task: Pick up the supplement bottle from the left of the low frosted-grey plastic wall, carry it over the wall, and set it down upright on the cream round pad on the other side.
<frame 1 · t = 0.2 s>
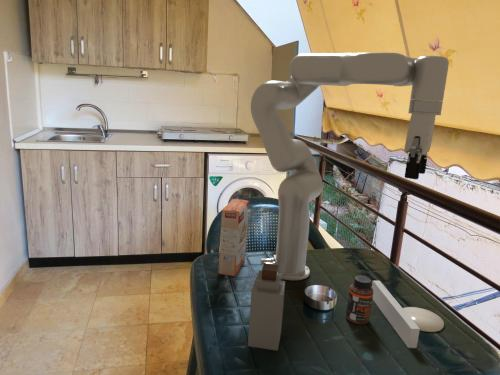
hand: (414, 175, 106), 37 cm above the table, tool pointing down, fingers open, 9 cm apart
resting pad: (420, 319, 107), on the table
supplement bottle: (357, 319, 106), on the table
cracker box: (232, 267, 132), on the table
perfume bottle: (264, 340, 95), on the table
low wall: (391, 319, 106), on the table
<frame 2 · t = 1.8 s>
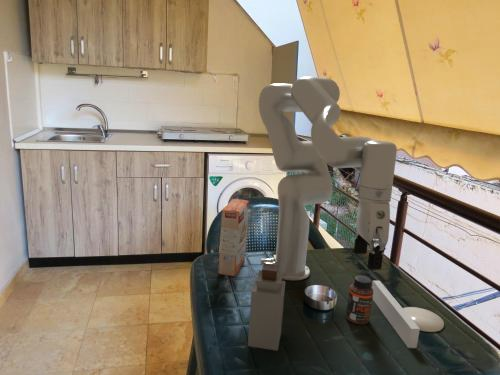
hand: (366, 260, 101), 16 cm above the table, tool pointing down, fingers open, 9 cm apart
nothing on the table moved.
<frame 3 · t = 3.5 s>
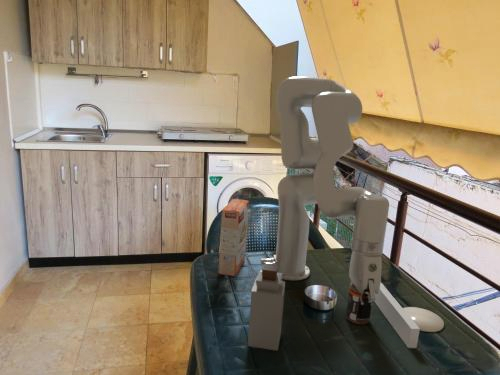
hand: (358, 310, 105), 3 cm above the table, tool pointing down, fingers closed on supplement bottle, 6 cm apart
supplement bottle: (357, 319, 106), on the table, touching gripper
everything else where it was.
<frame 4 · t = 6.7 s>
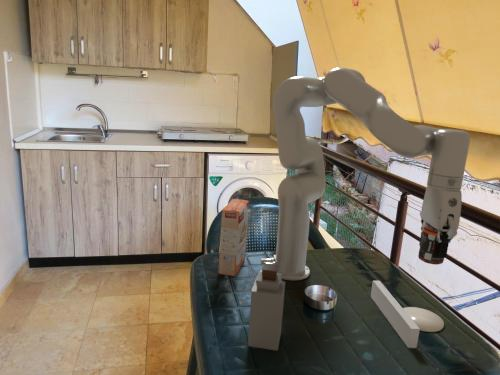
hand: (432, 250, 103), 19 cm above the table, tool pointing down, fingers closed on supplement bottle, 6 cm apart
supplement bottle: (430, 261, 103), point 16 cm above the table, touching gripper
everything else where it was.
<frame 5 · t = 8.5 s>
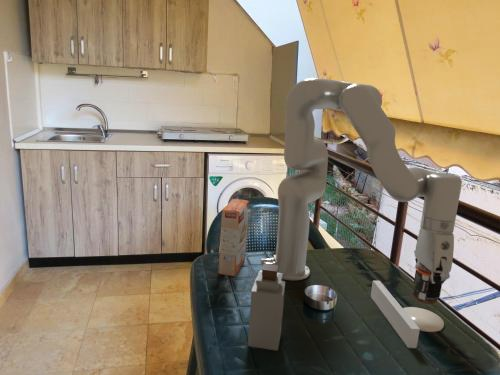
hand: (426, 289, 105), 9 cm above the table, tool pointing down, fingers closed on supplement bottle, 6 cm apart
supplement bottle: (424, 299, 106), point 6 cm above the table, touching gripper
everything else where it was.
when the fingers open (4 cm above the table, at t = 9.8 s): supplement bottle drops 1 cm, resting on resting pad.
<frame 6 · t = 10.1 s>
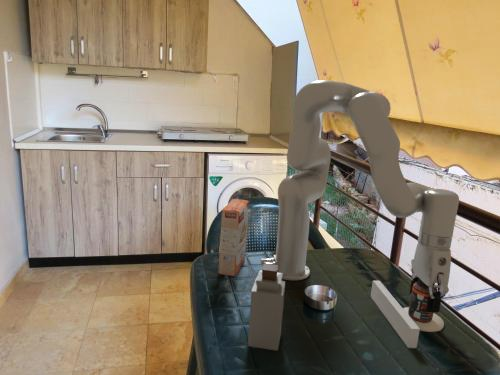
hand: (423, 302, 106), 5 cm above the table, tool pointing down, fingers open, 8 cm apart
supplement bottle: (419, 318, 107), resting on resting pad
everything else where it was.
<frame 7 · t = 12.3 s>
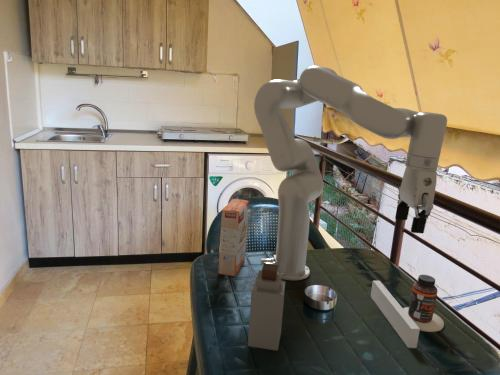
hand: (408, 225, 108), 23 cm above the table, tool pointing down, fingers open, 9 cm apart
nothing on the table moved.
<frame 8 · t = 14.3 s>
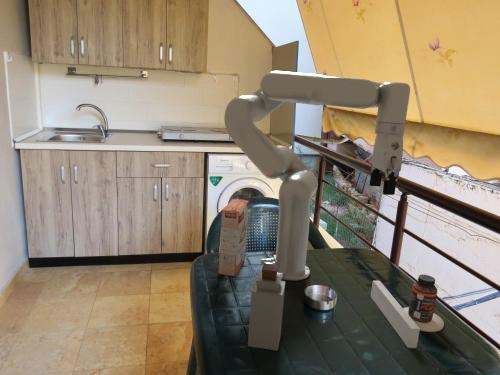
hand: (381, 190, 116), 30 cm above the table, tool pointing down, fingers open, 9 cm apart
nothing on the table moved.
at the end: supplement bottle 0.4 cm off-centre on the resting pad, point 0.3 cm above the resting pad's base; supplement bottle tilted 0°; the gripper is holding nothing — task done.
